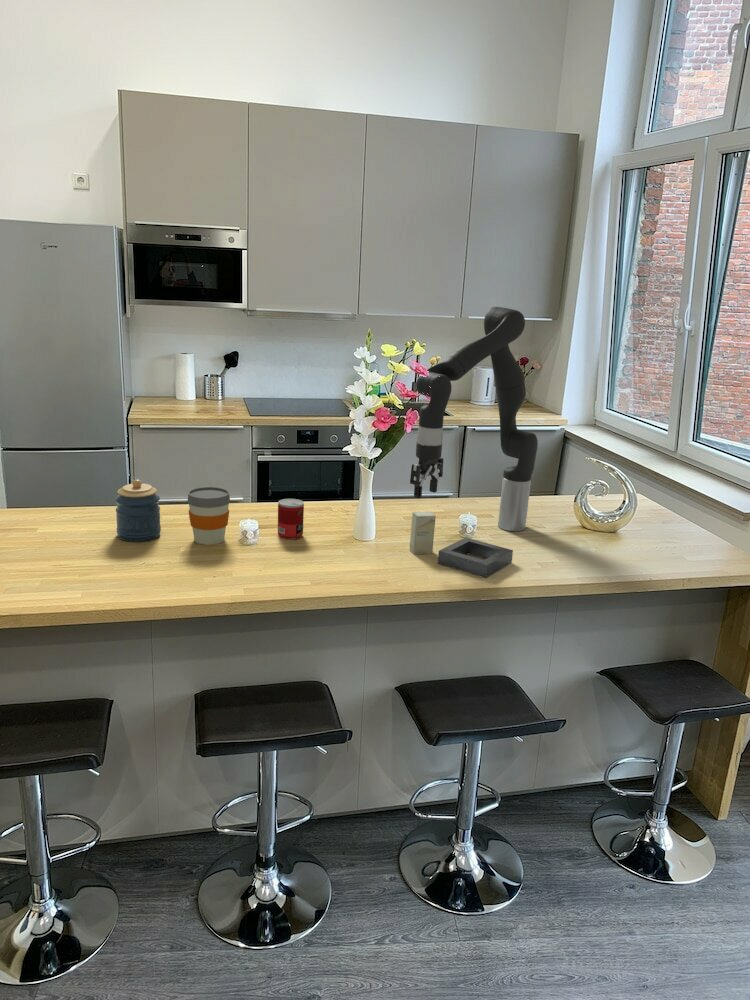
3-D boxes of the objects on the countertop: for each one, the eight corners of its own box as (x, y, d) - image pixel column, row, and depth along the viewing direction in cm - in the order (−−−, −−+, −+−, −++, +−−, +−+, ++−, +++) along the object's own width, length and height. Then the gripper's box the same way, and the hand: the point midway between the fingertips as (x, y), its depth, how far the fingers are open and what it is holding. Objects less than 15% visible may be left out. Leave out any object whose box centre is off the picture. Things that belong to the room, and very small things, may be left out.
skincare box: (413, 554, 234) (416, 516, 230) (409, 549, 238) (411, 511, 234) (433, 553, 235) (436, 515, 232) (428, 548, 239) (431, 511, 236)
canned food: (301, 540, 241) (302, 506, 237) (275, 538, 241) (276, 505, 237) (304, 532, 248) (305, 499, 245) (279, 530, 248) (279, 497, 245)
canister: (154, 543, 231) (152, 486, 226) (110, 541, 231) (107, 484, 226) (166, 529, 244) (164, 475, 238) (124, 527, 244) (122, 472, 238)
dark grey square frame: (464, 549, 240) (465, 537, 239) (511, 562, 231) (513, 550, 230) (437, 563, 228) (438, 550, 227) (486, 578, 219) (487, 565, 218)
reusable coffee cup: (235, 534, 242) (235, 488, 238) (223, 548, 230) (223, 500, 226) (195, 531, 243) (195, 485, 239) (182, 545, 231) (181, 496, 227)
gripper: (431, 436, 234) (427, 487, 239) (405, 442, 223) (401, 497, 228) (453, 440, 230) (448, 492, 235) (427, 447, 219) (423, 502, 224)
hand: (425, 494), depth 231 cm, fingers open, 8 cm apart
